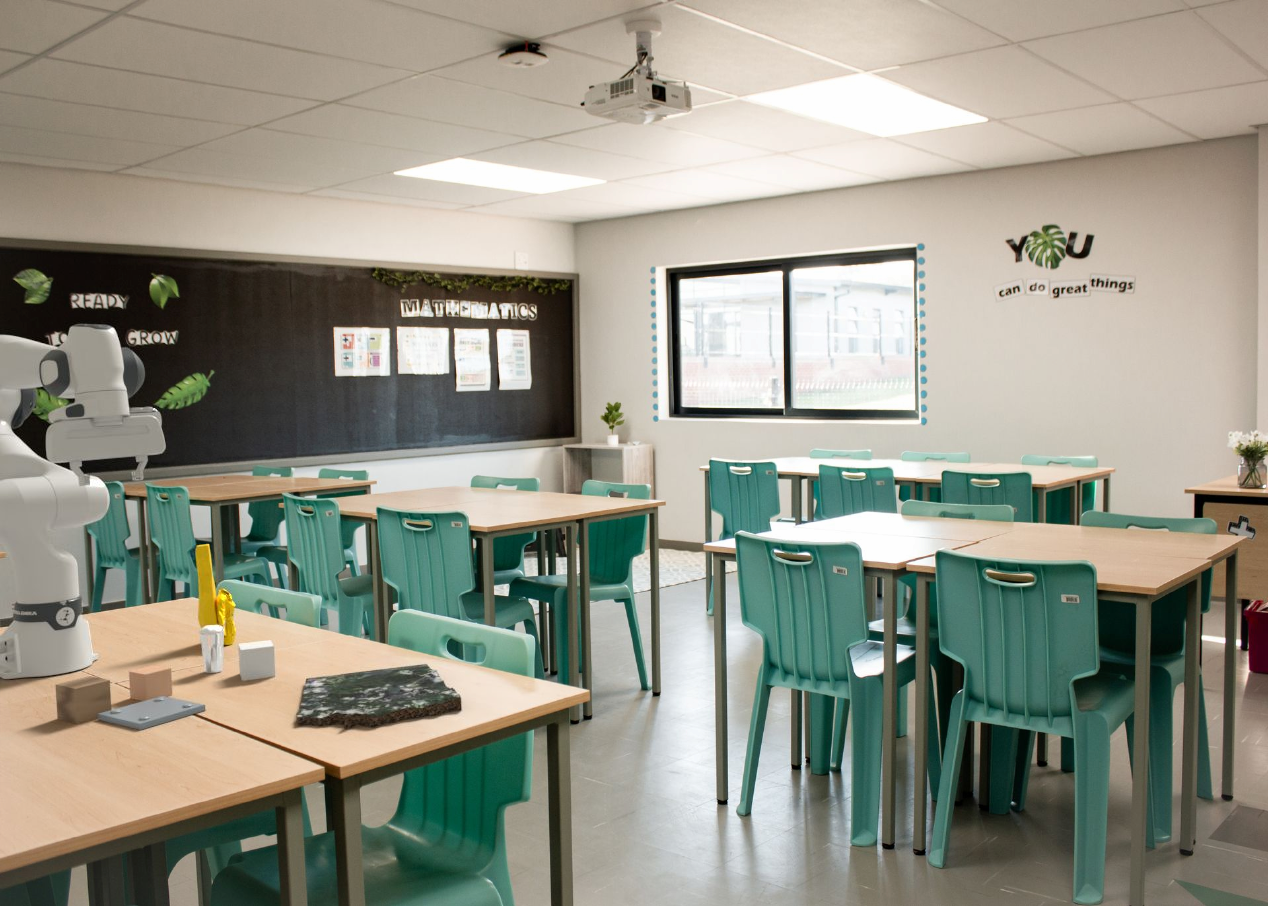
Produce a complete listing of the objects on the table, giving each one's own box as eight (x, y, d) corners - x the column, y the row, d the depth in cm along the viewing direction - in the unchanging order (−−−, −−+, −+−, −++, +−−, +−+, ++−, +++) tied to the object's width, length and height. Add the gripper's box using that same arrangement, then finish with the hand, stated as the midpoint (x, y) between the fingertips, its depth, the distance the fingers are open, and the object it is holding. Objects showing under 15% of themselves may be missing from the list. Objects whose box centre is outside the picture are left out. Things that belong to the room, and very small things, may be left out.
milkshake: (221, 674, 207) (218, 623, 207) (196, 674, 208) (193, 623, 208) (234, 668, 212) (232, 618, 211) (210, 668, 213) (207, 618, 212)
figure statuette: (235, 650, 227) (229, 548, 226) (195, 654, 225) (190, 550, 224) (240, 633, 244) (235, 538, 243) (203, 636, 242) (198, 540, 241)
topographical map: (426, 672, 207) (426, 656, 206) (465, 717, 176) (464, 700, 176) (286, 689, 197) (286, 673, 197) (301, 741, 167) (300, 722, 166)
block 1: (57, 719, 180) (55, 684, 180) (91, 710, 186) (89, 675, 185) (77, 724, 177) (75, 688, 177) (111, 714, 182) (109, 680, 182)
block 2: (130, 698, 192) (128, 671, 192) (155, 691, 196) (154, 665, 196) (146, 702, 189) (145, 674, 189) (172, 695, 194) (170, 668, 193)
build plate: (98, 719, 179) (97, 712, 179) (163, 701, 189) (162, 694, 189) (140, 729, 173) (140, 722, 173) (205, 710, 183) (205, 703, 183)
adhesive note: (239, 674, 208) (238, 643, 207) (272, 670, 210) (270, 639, 210) (242, 681, 202) (240, 649, 202) (275, 676, 205) (273, 645, 204)
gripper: (153, 408, 208) (162, 478, 208) (38, 414, 194) (47, 489, 194) (166, 404, 204) (175, 475, 204) (49, 410, 189) (58, 487, 189)
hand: (112, 482), depth 199 cm, fingers open, 8 cm apart
